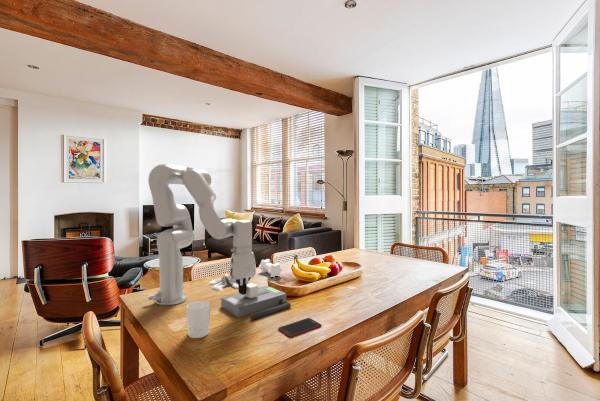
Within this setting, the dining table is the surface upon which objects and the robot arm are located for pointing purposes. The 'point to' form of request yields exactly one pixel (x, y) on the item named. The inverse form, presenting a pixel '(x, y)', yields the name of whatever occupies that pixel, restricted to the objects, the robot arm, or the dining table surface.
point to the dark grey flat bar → (271, 310)
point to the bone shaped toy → (270, 268)
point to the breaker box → (252, 301)
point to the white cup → (198, 318)
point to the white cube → (251, 290)
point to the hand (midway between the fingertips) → (242, 293)
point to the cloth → (223, 283)
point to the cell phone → (299, 327)
